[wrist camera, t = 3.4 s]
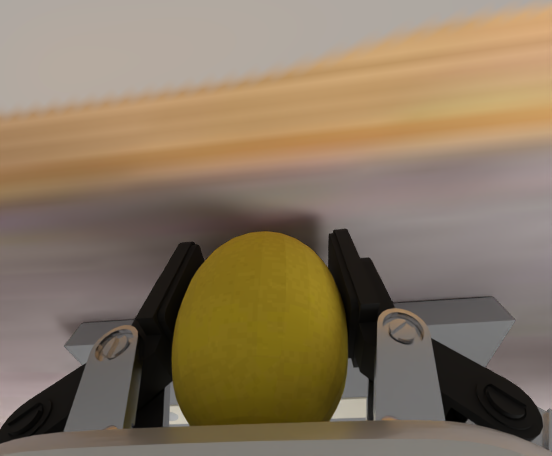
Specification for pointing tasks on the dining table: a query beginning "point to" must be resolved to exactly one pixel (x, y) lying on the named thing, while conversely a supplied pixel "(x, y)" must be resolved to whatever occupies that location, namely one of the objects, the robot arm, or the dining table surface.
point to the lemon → (260, 336)
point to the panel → (436, 314)
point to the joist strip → (345, 409)
